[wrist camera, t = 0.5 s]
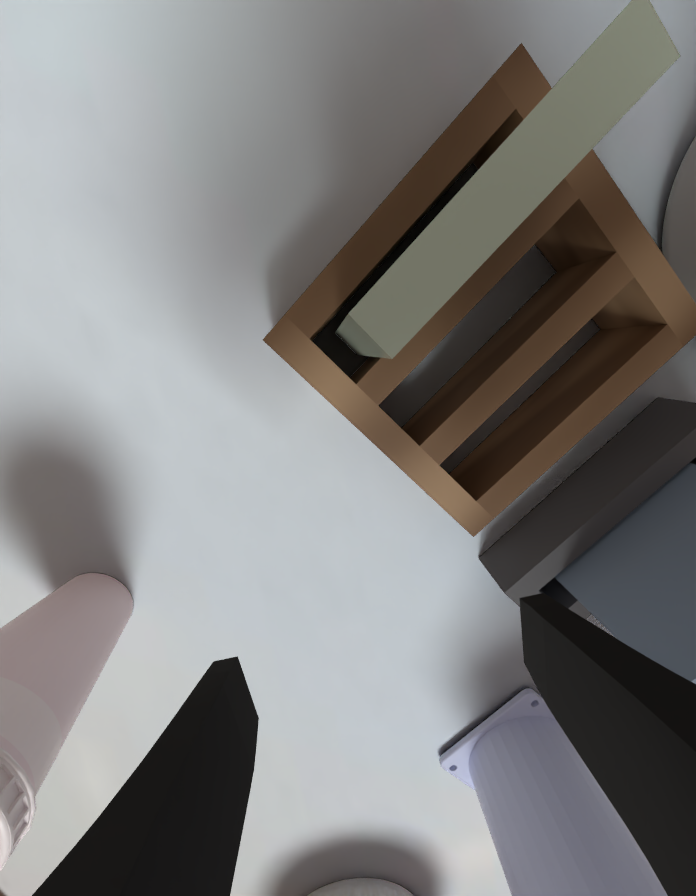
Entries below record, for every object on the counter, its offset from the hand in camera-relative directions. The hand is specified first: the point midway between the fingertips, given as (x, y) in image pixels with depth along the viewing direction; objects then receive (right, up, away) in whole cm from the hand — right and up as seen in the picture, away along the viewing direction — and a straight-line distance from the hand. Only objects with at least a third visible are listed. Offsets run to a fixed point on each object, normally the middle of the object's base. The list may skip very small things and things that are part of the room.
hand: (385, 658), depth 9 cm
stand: (+12, +2, +11) cm, 16 cm away
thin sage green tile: (+2, +13, +7) cm, 15 cm away
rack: (+4, +11, +8) cm, 14 cm away
